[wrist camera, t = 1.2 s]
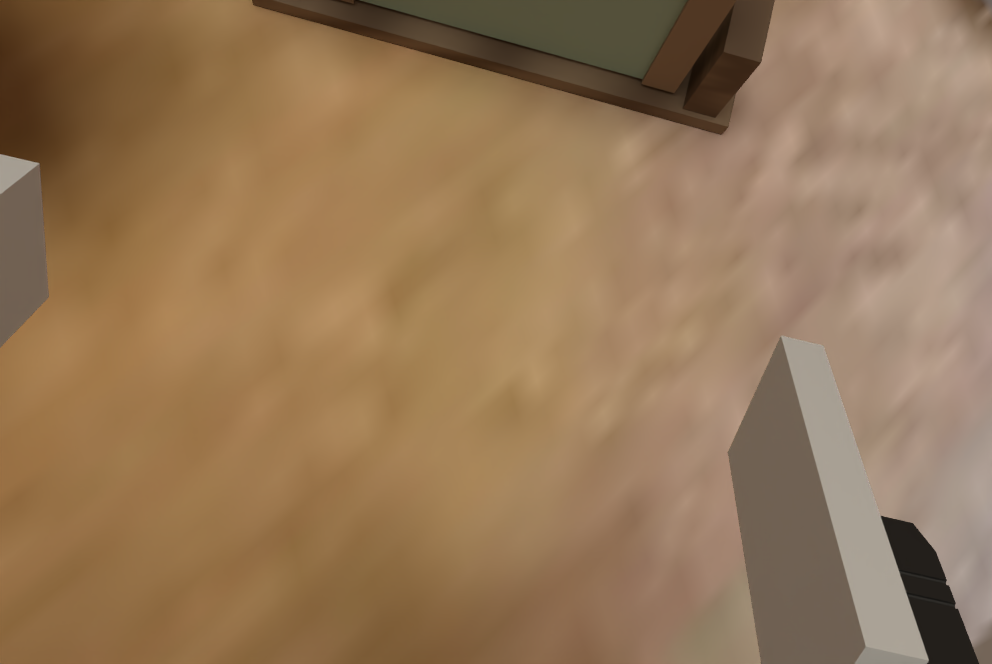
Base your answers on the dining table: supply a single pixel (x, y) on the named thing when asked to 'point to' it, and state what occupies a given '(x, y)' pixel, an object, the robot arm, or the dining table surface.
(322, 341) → the dining table surface
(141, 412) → the dining table surface
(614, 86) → the gate frame
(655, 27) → the gate
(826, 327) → the dining table surface
